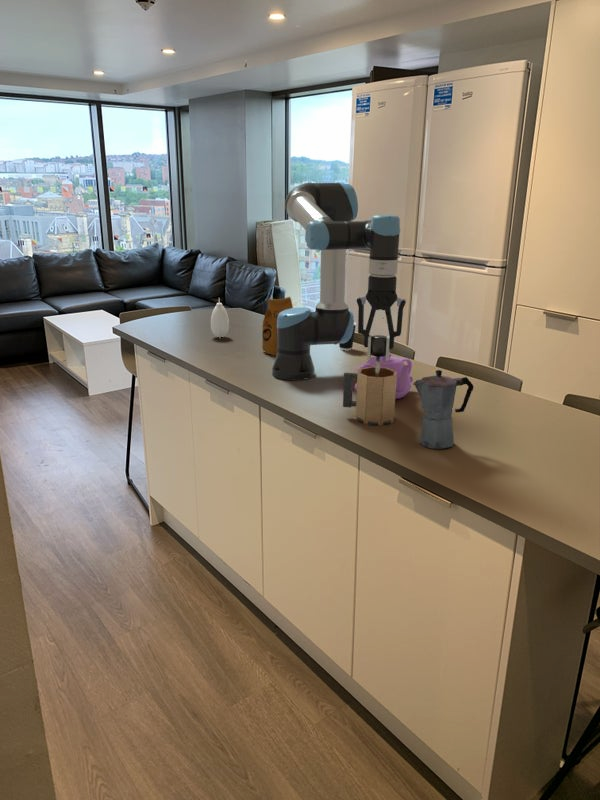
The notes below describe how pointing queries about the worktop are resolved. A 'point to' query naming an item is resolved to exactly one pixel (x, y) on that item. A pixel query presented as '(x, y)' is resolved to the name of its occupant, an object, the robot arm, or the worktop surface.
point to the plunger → (378, 350)
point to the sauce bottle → (219, 321)
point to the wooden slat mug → (372, 395)
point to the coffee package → (273, 323)
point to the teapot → (395, 364)
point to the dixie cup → (348, 342)
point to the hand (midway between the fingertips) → (378, 359)
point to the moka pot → (439, 408)
